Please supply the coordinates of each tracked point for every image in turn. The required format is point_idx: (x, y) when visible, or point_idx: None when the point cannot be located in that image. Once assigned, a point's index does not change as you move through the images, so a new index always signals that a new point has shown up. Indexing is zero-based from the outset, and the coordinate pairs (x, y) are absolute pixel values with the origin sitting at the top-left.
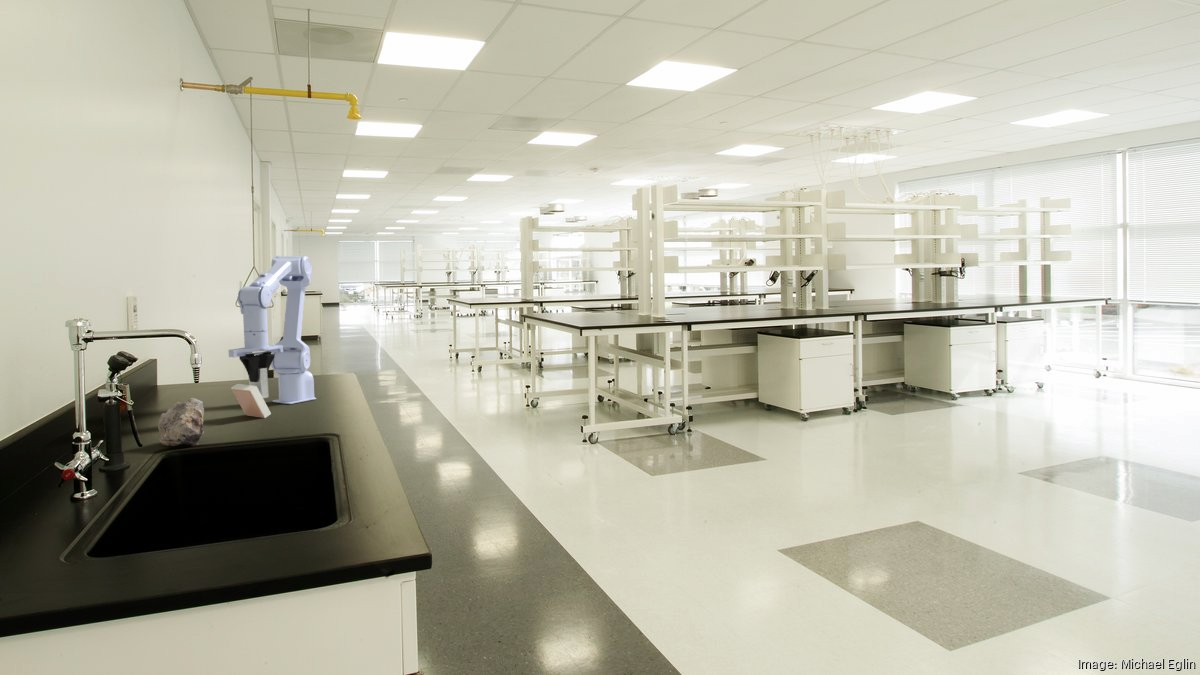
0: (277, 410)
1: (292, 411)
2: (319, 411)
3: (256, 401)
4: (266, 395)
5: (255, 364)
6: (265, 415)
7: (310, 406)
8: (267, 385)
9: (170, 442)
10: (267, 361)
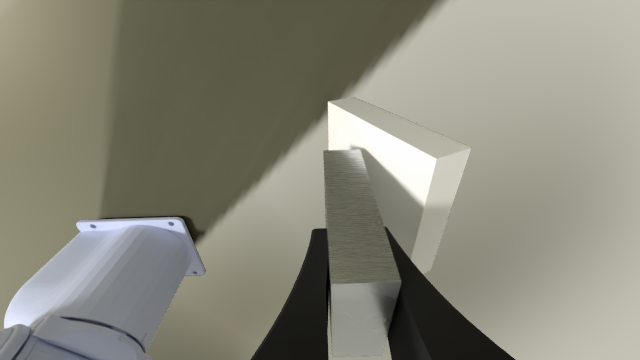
0: (251, 175)
1: (224, 117)
2: (133, 5)
3: (409, 121)
4: (335, 154)
5: (453, 334)
6: (353, 100)
7: (133, 141)
8: (329, 184)
9: None
10: (317, 355)
